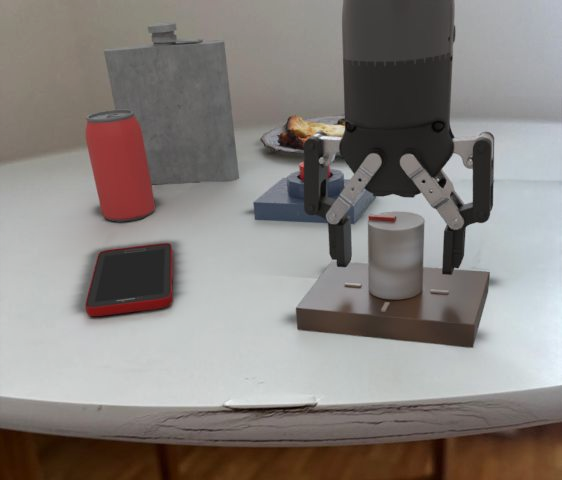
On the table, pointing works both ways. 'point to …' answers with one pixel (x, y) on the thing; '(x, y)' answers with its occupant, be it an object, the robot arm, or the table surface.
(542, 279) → the table surface
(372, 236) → the tap knob
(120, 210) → the beer can
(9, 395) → the table surface
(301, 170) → the red button
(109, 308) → the cell phone
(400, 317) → the panel
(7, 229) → the table surface
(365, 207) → the button block
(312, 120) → the food plate
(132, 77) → the hip flask
